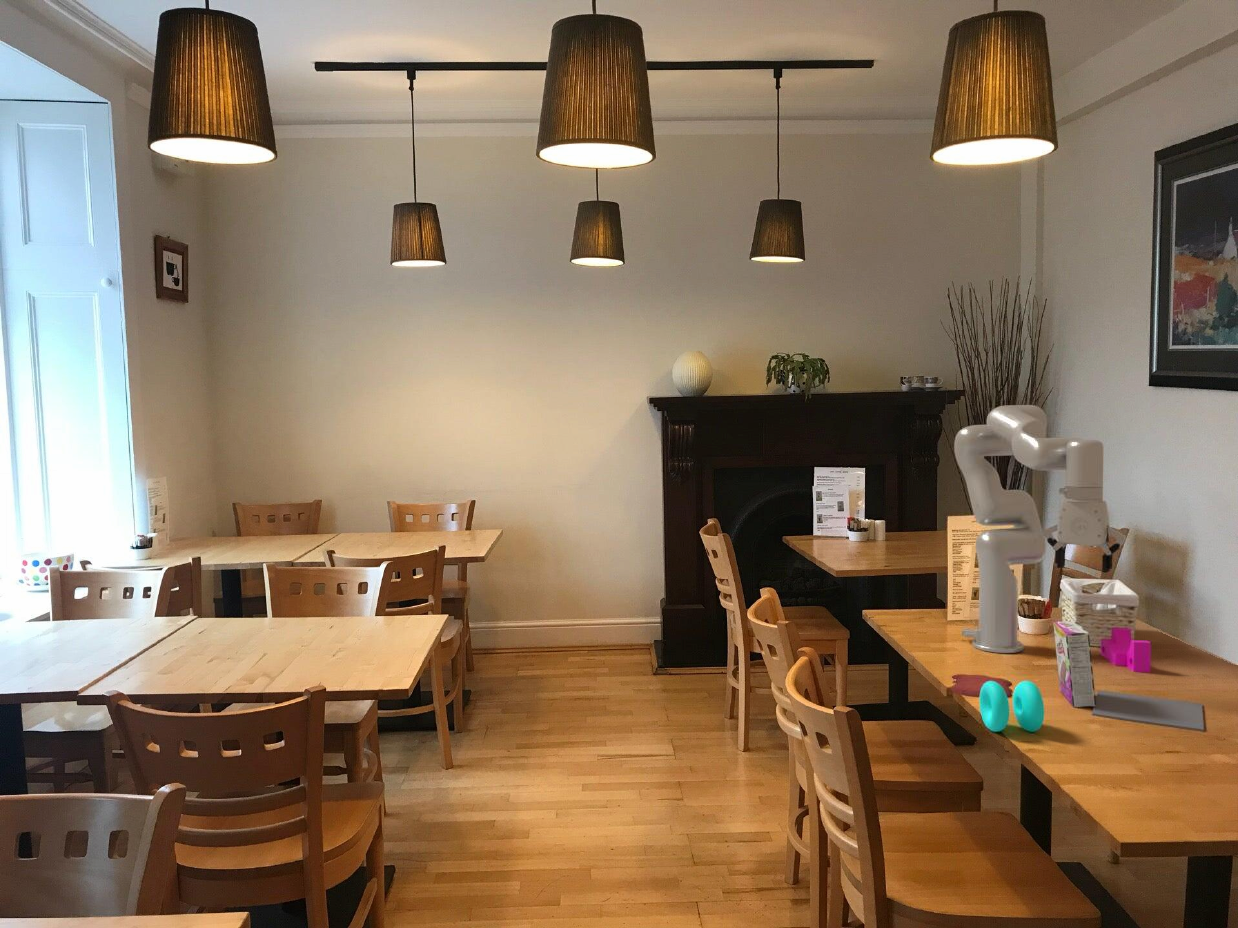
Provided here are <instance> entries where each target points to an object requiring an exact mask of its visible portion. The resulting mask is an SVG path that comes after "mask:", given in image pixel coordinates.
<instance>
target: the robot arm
mask: <svg viewBox="0 0 1238 928" xmlns="http://www.w3.org/2000/svg"><path fill="white" fill-rule="evenodd" d="M1047 426H1048V418H1047V414H1046V412H1045V411H1044V410H1043V409H1042V408H1041V407H1039V406H1037V405H1033V404H1017V405H1015V404H1014V405H1012V404H1011V405H1010V404H1009V405H999V406H997V407H995V408H993V409H991V411H990V412H989V413H988V415H987V417H986V424H974V425H968V426H965V427H963V428H962V429H960V430H959V431H958V432H957V433H956V435H955V437H954V443H953V444H954V446H953V447H954V455H955V458H956V459H955V460H956V462H957V465H958V467H959V469H960V471H961V473H962V475H963V477H964V480H965V483H966V487H967V492H968V495H969V499H970V504H971V509H972V511H973V516H974V518H975V520H976V522H977V523H978V524H979V525H980V526H985V527H987V526H988V527H989V526H990V527H994V526H995V527H997V526H1001V527H1002V526H1013V528H994V529H993V528H992V529H987V530H985V531H982V532H981V533H979V534H978V536H977V537H976V540H975V552H976V557H977V564H978V565H977V566H978V579H979V582H978V584H979V585H978V586H979V587H978V588H979V589H978V591H979V593H978V595H979V597H978V615H979V616H978V628H974V629H970V628H966V627H965V628H964V627H963V628H961V636H964V637H965V638H973V640H972V646H973V647H974V648H975V649H977V650H981V651H983V652H989V653H990V652H991V653H998V654H999V653H1001V654H1013V653H1019V652H1022V651H1024V650H1025V649H1024V646H1025V645H1024V643H1022V642H1021V641H1018V622H1019V621H1018V613H1019V612H1018V610H1019V609H1018V607H1019V601H1018V600H1019V584H1018V578H1017V577H1016V576H1015V574H1014V572H1013V570H1012V569H1011V567H1010V566H1014V565H1015V566H1016V565H1030V564H1031V565H1032V564H1036V563H1037V564H1038V563H1039V562H1041V561H1042V560H1043V559H1044V557H1045V556H1046V550H1047V546H1046V542H1047V543H1048V544H1049V546H1051V547H1052V548H1053V551H1054V563H1055V564H1056V568H1057V569H1061V568H1064V567H1065V565H1066V550H1065V549H1064V547H1065V546H1066V545H1073V546H1085V547H1087V546H1088V547H1099V548H1100V549H1101V550H1102V551H1103V552H1104V553H1103V554H1102V557H1101V558H1102V560H1101V562H1102V563H1101V569H1102V573H1104V574H1106V573H1109V572H1110V571H1111V570H1112V569H1113V556H1114V555H1113V554H1115V552H1117V551H1118V550H1120V549H1121V548H1122V545H1123V544H1124V543H1125V540H1126V539H1127V535H1125V534H1123V533H1121V532H1120V531H1118V530H1116V529H1115V528H1112V527H1111V526H1110V518H1109V511H1108V506H1107V501H1106V500H1104V499H1103V498H1104V445H1103V442H1102V441H1100V440H1096V439H1083V438H1080V437H1046V436H1047V431H1046V430H1047ZM988 456H989V457H996V456H997V457H998V456H1000V457H1001V456H1014V458H1015V460H1016V461H1017V462H1019V463H1020V464H1022V465H1024V466H1025V467H1027V468H1028V469H1031V470H1036V471H1043V472H1044V471H1065V486H1064V487H1063V488H1062V487H1061V488H1059V489H1058V491H1059V495H1063V496H1064V499H1061V502H1060V505H1059V510H1058V518H1057V524H1055V525H1053V526H1050V527H1047V528H1046V529H1044V530H1043V528H1042V525H1041V521H1040V520H1041V519H1040V517H1039V512H1038V509H1037V505H1036V503H1035V500H1034V498H1033V497H1032V496H1031V494H1029V493H1028V492H1026V491H1024V490H1021V489H1004V488H1003V487H1002V484H1001V479H1000V475H999V473H998V471H997V470H996V469H995V467H994V466H993V465H992V464H991V463H990V462H989V461H988V460H987V459H985V457H988ZM1055 532H1056V538H1055V537H1054V534H1053V533H1055ZM1111 537H1113V538H1115V539H1116V540H1115V542H1114V543H1113V545H1111V544H1110V543H1109V542H1110V538H1111ZM1045 539H1046V540H1045Z"/></svg>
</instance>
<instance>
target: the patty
mask: <svg viewBox="0 0 1238 928" xmlns="http://www.w3.org/2000/svg"><path fill="white" fill-rule="evenodd" d="M951 677H952V678H953V679H952V678H951V679H952V680H954V679H956V681H955V680H954V681H952V684H953V685H952V686H951V687H950V689H949V690H950V691H952V692H953V693H955V694H957V695H960V696H965V697H971V698H980V691H981V688H982V686H983V685H984V683H986V682H988V681H995V682H997V683H998V684H1000V685H1001V686H1002V687H1003V689H1004V691H1005V693H1006V695H1007V698H1008V699H1009V698H1011V696H1012V697H1013V694H1012V693H1013V692H1012V691H1013V689H1011V688H1010V687H1012V686H1013V685H1012V684H1013V683H1012V681H1009V680H1007V679H1004V678H1000V677H992V676H988V675H984V674H965V673H964V674H963V673H962V674H961V673H957V674H953V675H952V676H951ZM954 683H956V684H954ZM1011 685H1012V686H1011ZM1011 692H1012V693H1011Z"/></svg>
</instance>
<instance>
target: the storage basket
mask: <svg viewBox="0 0 1238 928" xmlns="http://www.w3.org/2000/svg"><path fill="white" fill-rule="evenodd" d="M1059 587H1060V589H1061V614H1062V617H1061V620H1062V621H1076V622H1077V623H1078V624H1079V625H1080V626H1081V627H1082V628H1084V629H1085V630H1086V631H1087V632H1088V633H1089V639H1090V647H1098V648H1099V647H1100V648H1101V639H1111V627H1117V628H1128V629H1130V630H1131V637H1132V640H1135V634H1136V633H1135V631H1136V629H1135V628H1136V625H1137V624H1136V622H1137V615H1138V609H1139V608H1138V607H1139V606H1140V596H1139V595H1138V594H1137V593H1136V592H1135V591H1134V590H1132V589H1131V588H1129V587H1128V586H1127V585H1126V584H1124V582H1122V581H1121V580H1119V579H1102V578H1101V579H1098V578H1066V577H1064V578H1063V579H1061V580H1060V584H1059ZM1083 590H1091V591H1098V592H1095V593H1085V592H1084V593H1083ZM1062 621H1061V622H1062Z"/></svg>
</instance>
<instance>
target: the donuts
mask: <svg viewBox="0 0 1238 928" xmlns="http://www.w3.org/2000/svg"><path fill="white" fill-rule="evenodd" d="M1012 693H1013V694H1012V709H1013V714H1014V717H1015V719H1016V721H1017V723H1018V724H1019V726H1020V727H1021V728H1022V729H1023V730H1025V731H1027V732H1031V733H1033V732H1036V731H1038V730H1040V729H1041V727H1042V725H1043V723H1044V720H1045V705H1044V700H1043V696H1042V693H1041V691H1040V688H1038V686H1037V685H1036V684H1035V683H1034V682H1032V681H1029V680H1022V681H1020V682H1019V683H1018V684H1017V685H1016V686H1015V688H1014V691H1013V692H1012ZM978 699H979V712H980V714H981V718H982V719H981V720H982V721H983V723H984V725H985V727H986V728H987V729H988V730H990V731H991V732H994V733H998V732H1002V731H1003V730H1005V728H1006V726H1007V725H1008V722H1009V718H1010V703H1009V702H1010V701H1009V698H1007V695H1006V693H1005V691H1004V689H1003V687H1002V686H1001V685H1000V684H998V683H997V682H995V681H988V682H986V683H984V685H983V686H982V688H981V691H980V697H978Z"/></svg>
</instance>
